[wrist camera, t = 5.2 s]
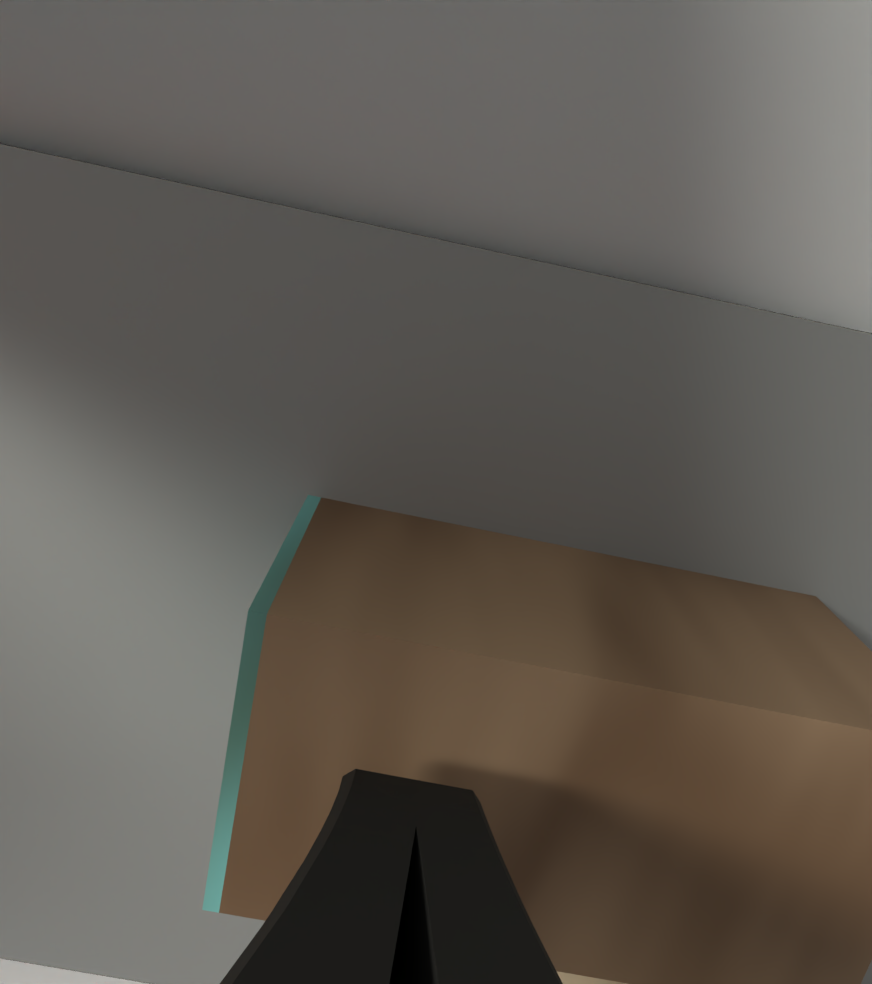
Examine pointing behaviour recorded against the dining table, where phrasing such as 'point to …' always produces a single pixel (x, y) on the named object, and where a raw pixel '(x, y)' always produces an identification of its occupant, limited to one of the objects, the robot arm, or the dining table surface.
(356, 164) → the dining table surface
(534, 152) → the dining table surface
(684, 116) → the dining table surface
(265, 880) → the walnut block
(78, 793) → the rubber mat
